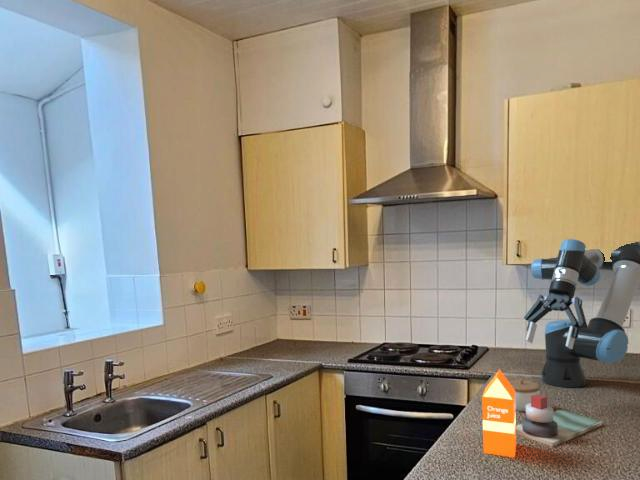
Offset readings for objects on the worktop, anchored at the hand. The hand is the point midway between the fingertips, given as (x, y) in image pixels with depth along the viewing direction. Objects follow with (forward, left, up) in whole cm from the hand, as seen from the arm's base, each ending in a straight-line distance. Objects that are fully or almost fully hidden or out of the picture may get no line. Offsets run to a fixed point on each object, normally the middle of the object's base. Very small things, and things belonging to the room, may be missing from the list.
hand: (548, 344), depth 155 cm
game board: (+12, +9, -21) cm, 26 cm away
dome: (+20, +9, -16) cm, 27 cm away
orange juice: (+36, +8, -21) cm, 42 cm away
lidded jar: (+5, -7, -21) cm, 23 cm away
